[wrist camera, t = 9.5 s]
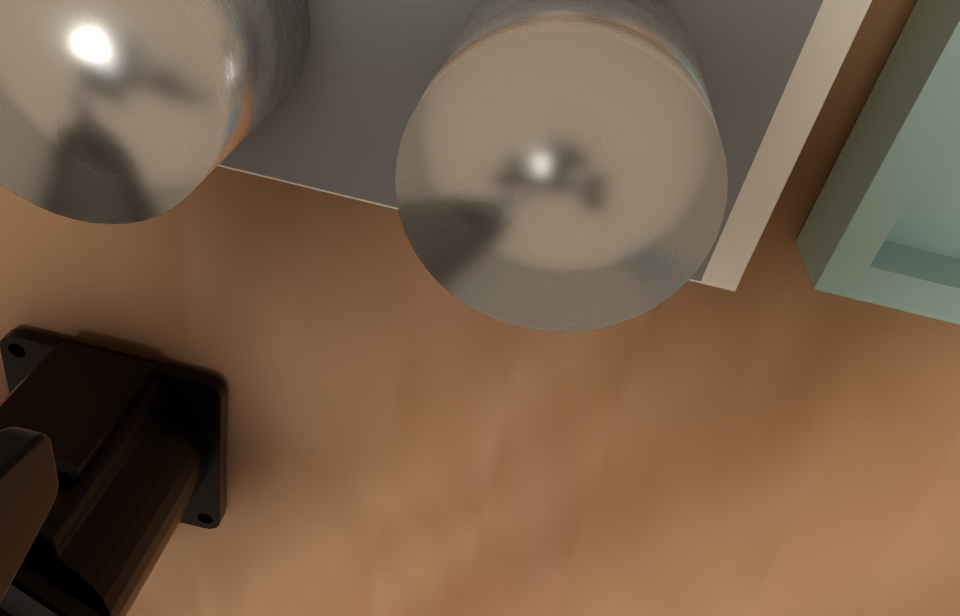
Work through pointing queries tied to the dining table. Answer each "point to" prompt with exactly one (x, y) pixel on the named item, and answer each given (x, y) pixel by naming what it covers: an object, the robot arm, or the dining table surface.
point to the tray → (898, 181)
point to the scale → (434, 26)
